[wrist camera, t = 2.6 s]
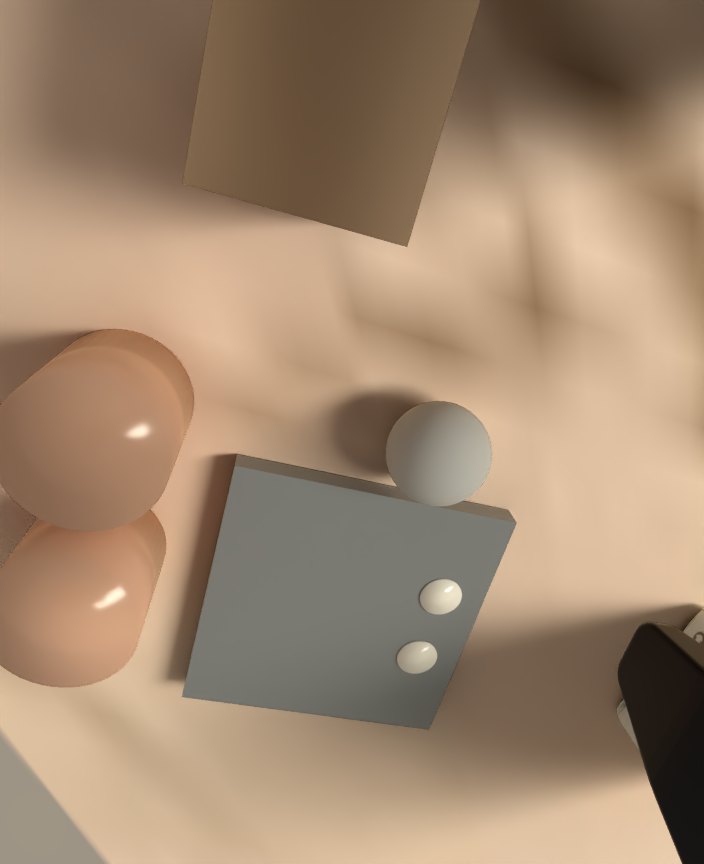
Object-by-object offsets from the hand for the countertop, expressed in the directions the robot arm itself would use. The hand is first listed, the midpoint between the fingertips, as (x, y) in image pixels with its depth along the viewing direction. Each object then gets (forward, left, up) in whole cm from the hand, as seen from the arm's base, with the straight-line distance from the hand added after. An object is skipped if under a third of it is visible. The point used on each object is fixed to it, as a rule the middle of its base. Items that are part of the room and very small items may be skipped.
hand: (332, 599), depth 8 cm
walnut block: (+1, -6, -11) cm, 13 cm away
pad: (-3, +8, -11) cm, 13 cm away
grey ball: (-4, +1, -11) cm, 11 cm away
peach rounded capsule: (+5, +2, -11) cm, 12 cm away
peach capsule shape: (+5, +7, -11) cm, 14 cm away
